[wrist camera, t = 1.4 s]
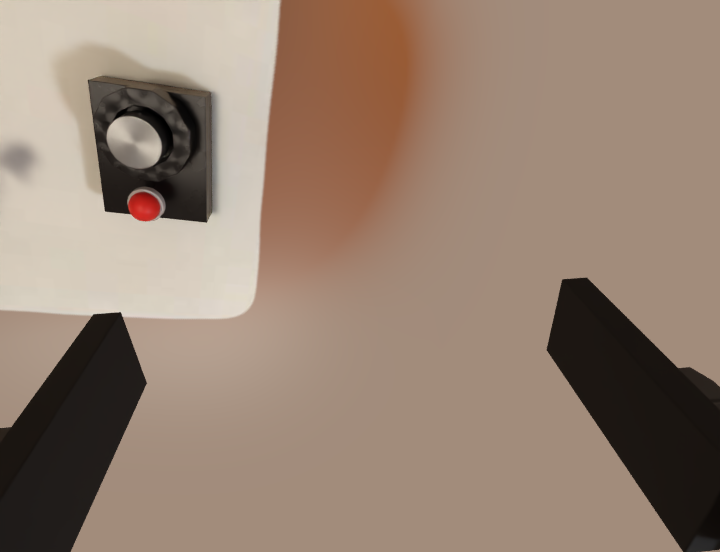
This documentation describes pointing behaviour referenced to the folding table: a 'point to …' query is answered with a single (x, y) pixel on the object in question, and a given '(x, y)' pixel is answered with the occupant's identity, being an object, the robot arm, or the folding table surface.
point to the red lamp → (146, 204)
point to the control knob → (138, 139)
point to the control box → (181, 162)
